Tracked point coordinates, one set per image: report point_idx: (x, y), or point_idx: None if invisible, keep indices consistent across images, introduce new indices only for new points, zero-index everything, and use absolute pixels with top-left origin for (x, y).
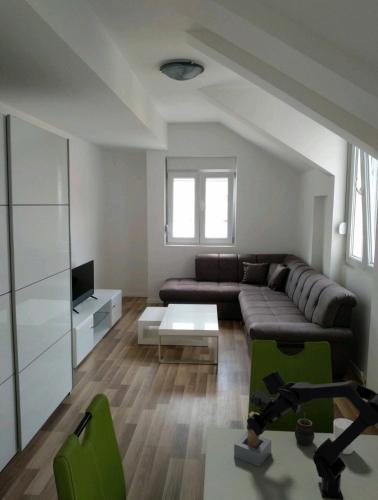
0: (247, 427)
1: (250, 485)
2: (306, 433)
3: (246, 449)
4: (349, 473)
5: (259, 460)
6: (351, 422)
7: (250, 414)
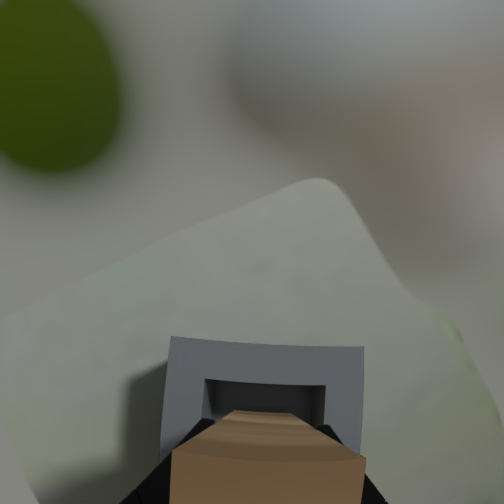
0: (201, 423)
1: (55, 466)
2: None
3: (162, 426)
4: None
5: None
6: None
7: (217, 488)
